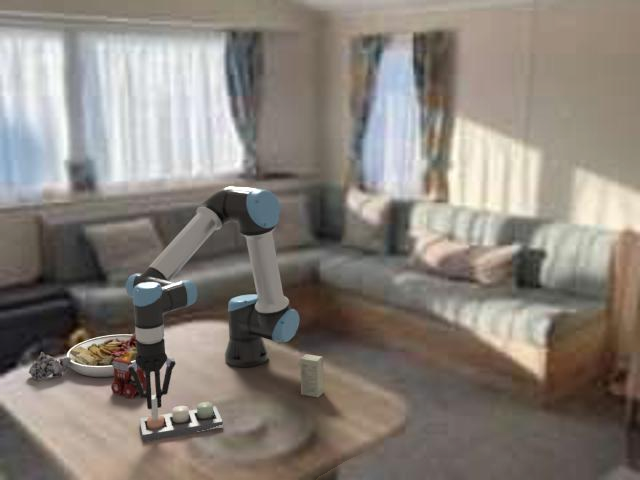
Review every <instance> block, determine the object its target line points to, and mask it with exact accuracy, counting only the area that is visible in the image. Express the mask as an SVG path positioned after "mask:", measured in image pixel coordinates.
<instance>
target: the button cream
mask: <svg viewBox="0 0 640 480" xmlns="http://www.w3.org/2000/svg"><path fill="white" fill-rule="evenodd" d="M189 410H190V409H189V407H188V406H186V405H178V406H175V407H173V408H172V409H171V413H172V419H173V421H174V422H176V423H184V422H188V421H189V420H188V419H189ZM187 420H188V421H187Z"/></svg>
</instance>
